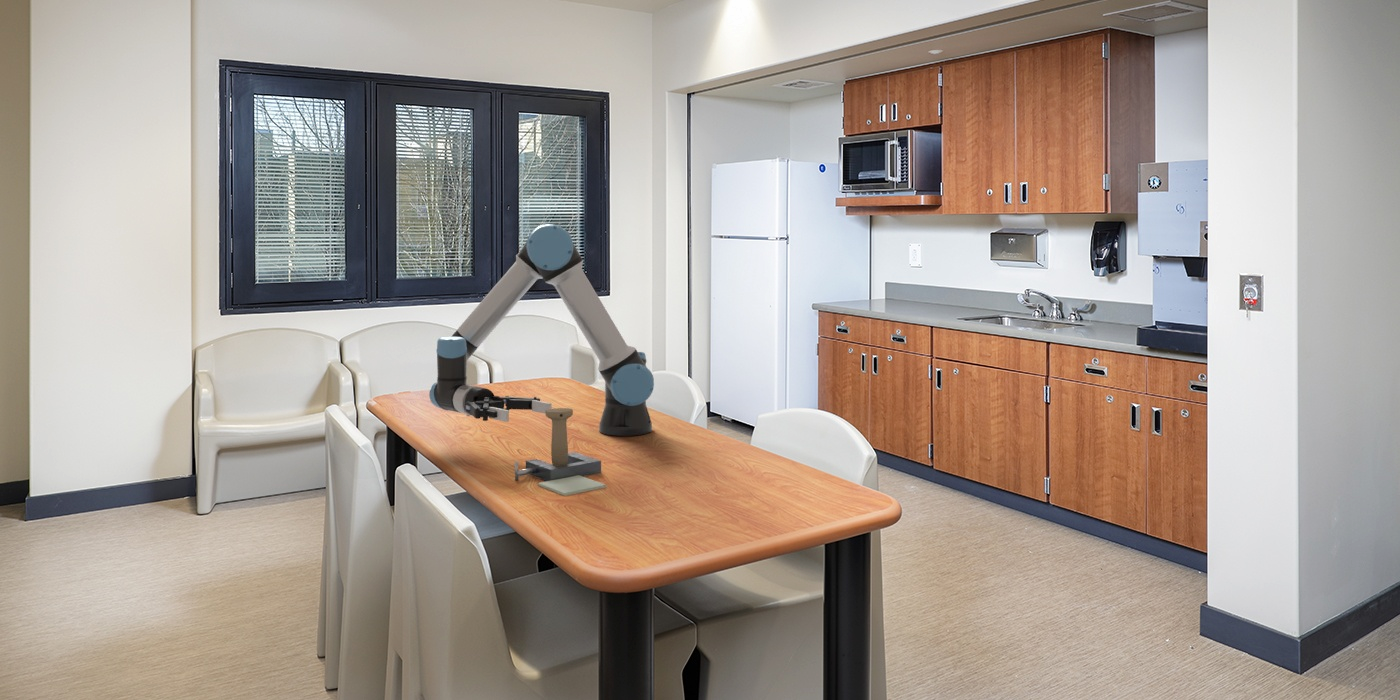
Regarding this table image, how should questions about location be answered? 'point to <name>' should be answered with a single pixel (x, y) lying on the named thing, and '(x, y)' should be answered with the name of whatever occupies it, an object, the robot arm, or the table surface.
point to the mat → (572, 485)
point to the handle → (559, 434)
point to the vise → (560, 468)
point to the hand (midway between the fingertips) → (529, 412)
